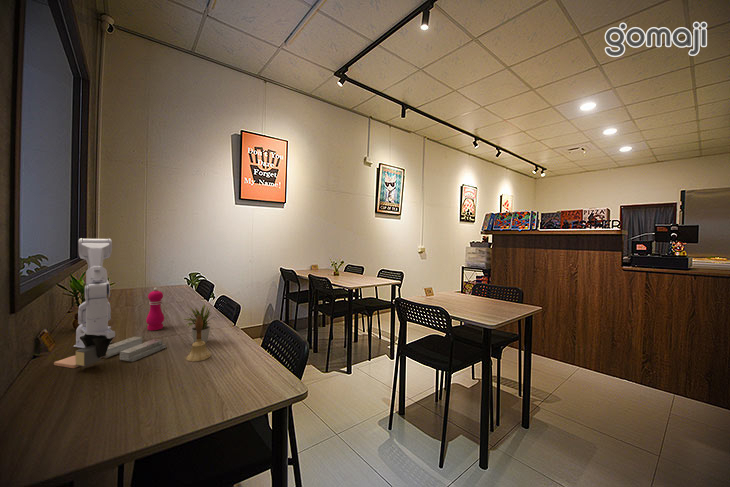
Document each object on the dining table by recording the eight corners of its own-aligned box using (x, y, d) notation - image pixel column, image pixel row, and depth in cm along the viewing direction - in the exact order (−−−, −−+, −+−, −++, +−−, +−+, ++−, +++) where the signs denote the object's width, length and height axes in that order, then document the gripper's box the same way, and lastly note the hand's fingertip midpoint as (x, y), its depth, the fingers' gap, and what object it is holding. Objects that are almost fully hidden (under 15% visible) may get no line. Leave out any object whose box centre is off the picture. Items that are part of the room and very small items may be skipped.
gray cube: (75, 365, 100) (75, 350, 100) (92, 359, 105) (92, 345, 105) (84, 366, 99) (84, 352, 99) (101, 360, 104) (101, 346, 104)
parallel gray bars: (94, 355, 112) (94, 348, 112) (130, 343, 126) (130, 335, 126) (132, 361, 108) (133, 353, 108) (166, 347, 122) (166, 340, 122)
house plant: (183, 337, 134) (183, 301, 133) (217, 334, 140) (218, 299, 139) (178, 349, 121) (179, 309, 120) (216, 344, 127) (217, 306, 126)
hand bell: (181, 358, 112) (181, 316, 112) (202, 351, 120) (202, 311, 119) (194, 363, 108) (195, 320, 108) (215, 355, 116) (216, 315, 115)
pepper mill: (154, 331, 141) (155, 289, 140) (142, 330, 142) (142, 288, 141) (167, 327, 148) (168, 286, 147) (155, 325, 149) (156, 285, 149)
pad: (53, 365, 104) (53, 362, 104) (83, 355, 113) (83, 352, 113) (73, 368, 102) (73, 365, 102) (102, 357, 111) (102, 355, 111)
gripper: (124, 316, 106) (124, 354, 107) (95, 312, 110) (95, 348, 111) (102, 322, 99) (101, 362, 100) (72, 317, 103) (72, 355, 104)
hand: (97, 355), depth 105 cm, fingers closed on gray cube, 4 cm apart
